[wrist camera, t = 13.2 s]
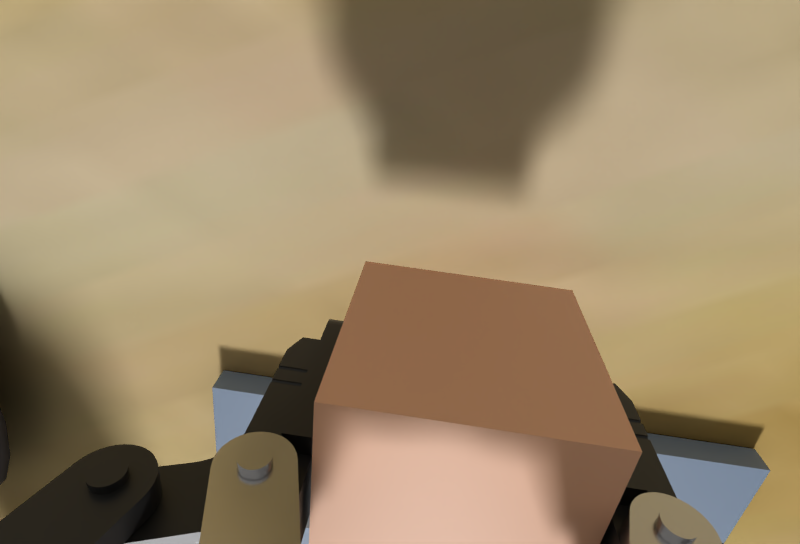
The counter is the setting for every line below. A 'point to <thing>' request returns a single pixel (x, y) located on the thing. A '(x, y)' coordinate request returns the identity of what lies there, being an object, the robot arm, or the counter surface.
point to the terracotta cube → (465, 417)
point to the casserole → (3, 449)
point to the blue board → (680, 458)
